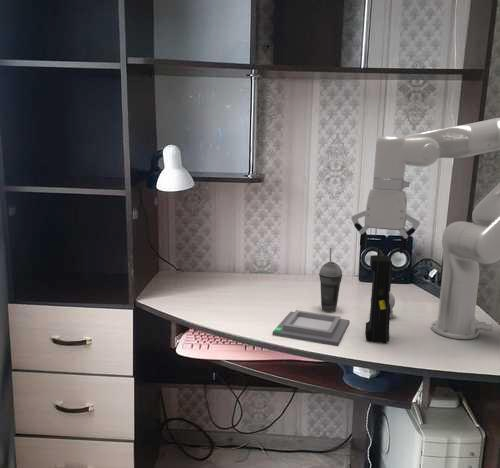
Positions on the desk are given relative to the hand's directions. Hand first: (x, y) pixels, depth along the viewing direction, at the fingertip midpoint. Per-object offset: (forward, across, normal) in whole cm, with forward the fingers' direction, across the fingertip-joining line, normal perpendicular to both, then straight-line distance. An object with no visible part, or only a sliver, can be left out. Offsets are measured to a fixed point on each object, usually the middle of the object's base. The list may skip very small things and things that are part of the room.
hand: (382, 250), depth 130 cm
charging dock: (+25, +17, 0) cm, 30 cm away
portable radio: (+25, -1, 0) cm, 25 cm away
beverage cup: (+25, +16, -18) cm, 35 cm away
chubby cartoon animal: (+25, 0, -18) cm, 30 cm away
